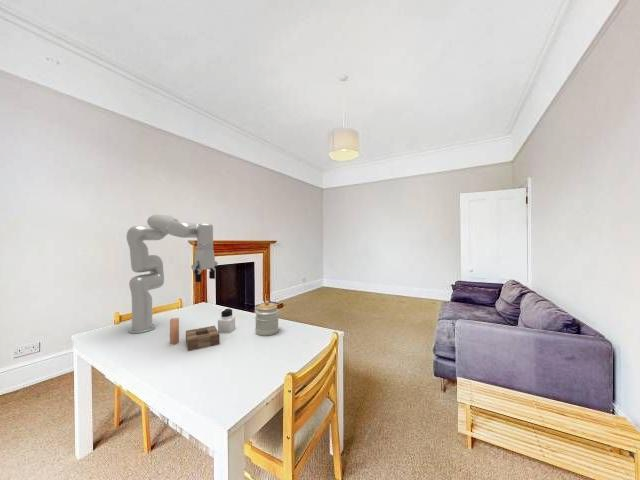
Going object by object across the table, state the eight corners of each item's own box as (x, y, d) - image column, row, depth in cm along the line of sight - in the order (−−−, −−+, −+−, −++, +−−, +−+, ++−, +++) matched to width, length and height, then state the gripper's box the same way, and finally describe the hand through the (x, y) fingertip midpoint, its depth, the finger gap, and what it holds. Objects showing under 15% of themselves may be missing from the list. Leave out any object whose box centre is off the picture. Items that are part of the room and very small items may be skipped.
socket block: (185, 340, 128) (185, 330, 128) (214, 334, 136) (214, 325, 136) (188, 351, 116) (187, 340, 116) (219, 344, 124) (219, 334, 124)
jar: (276, 336, 134) (276, 304, 133) (252, 336, 134) (252, 303, 134) (280, 327, 147) (280, 297, 146) (258, 327, 147) (258, 297, 147)
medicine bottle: (235, 328, 145) (235, 308, 145) (229, 333, 138) (229, 311, 138) (223, 327, 146) (223, 307, 146) (217, 332, 139) (217, 311, 139)
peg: (169, 342, 126) (169, 318, 126) (178, 340, 128) (178, 317, 128) (170, 345, 123) (169, 321, 123) (179, 343, 125) (179, 319, 125)
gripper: (211, 246, 138) (211, 277, 138) (185, 248, 121) (186, 282, 122) (222, 246, 136) (222, 277, 136) (198, 248, 119) (198, 283, 119)
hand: (205, 280), depth 129 cm, fingers open, 9 cm apart
